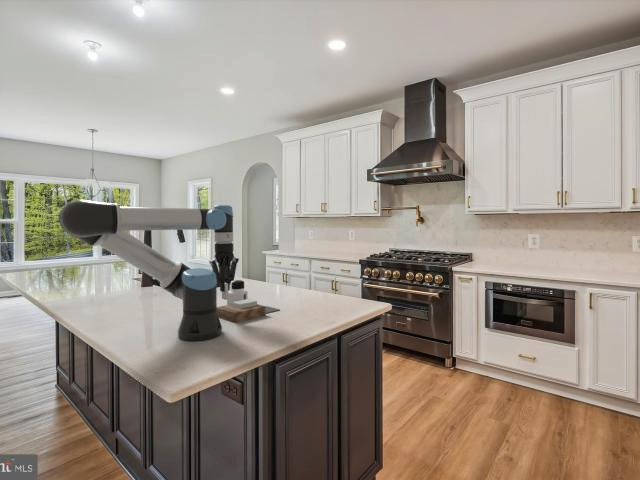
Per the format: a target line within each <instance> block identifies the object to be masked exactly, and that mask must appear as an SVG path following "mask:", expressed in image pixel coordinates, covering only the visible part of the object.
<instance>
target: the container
mask: <svg viewBox="0 0 640 480" xmlns="http://www.w3.org/2000/svg"><path fill="white" fill-rule="evenodd" d="M248 297H249V296H248V290H245V281H244V280H241V279H236V280H235V279H234V281H231V283H230V290H229V291H228V299H226V305H230V304H232V302H235V301H240V300H246V299H249V298H248Z"/></svg>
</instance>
